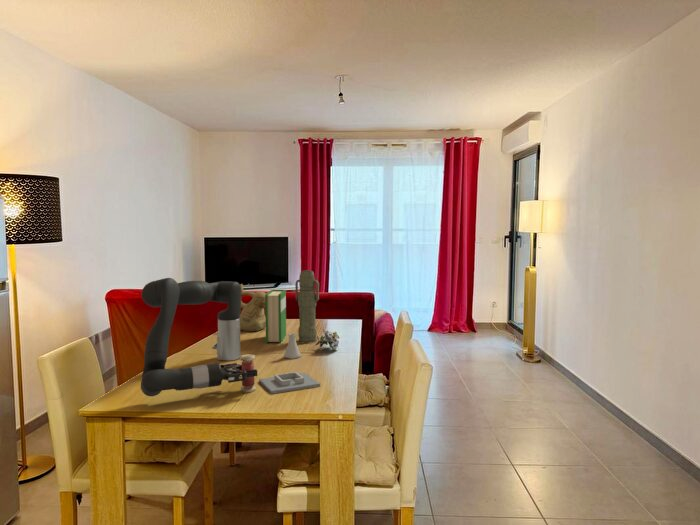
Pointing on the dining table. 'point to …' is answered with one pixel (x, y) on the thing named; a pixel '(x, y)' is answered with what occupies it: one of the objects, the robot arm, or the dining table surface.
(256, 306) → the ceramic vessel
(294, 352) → the flask
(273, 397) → the dining table surface
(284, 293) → the hardback book
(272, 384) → the board
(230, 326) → the robot arm
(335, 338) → the passion flower
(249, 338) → the dining table surface
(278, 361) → the dining table surface
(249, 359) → the bobbin
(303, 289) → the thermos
